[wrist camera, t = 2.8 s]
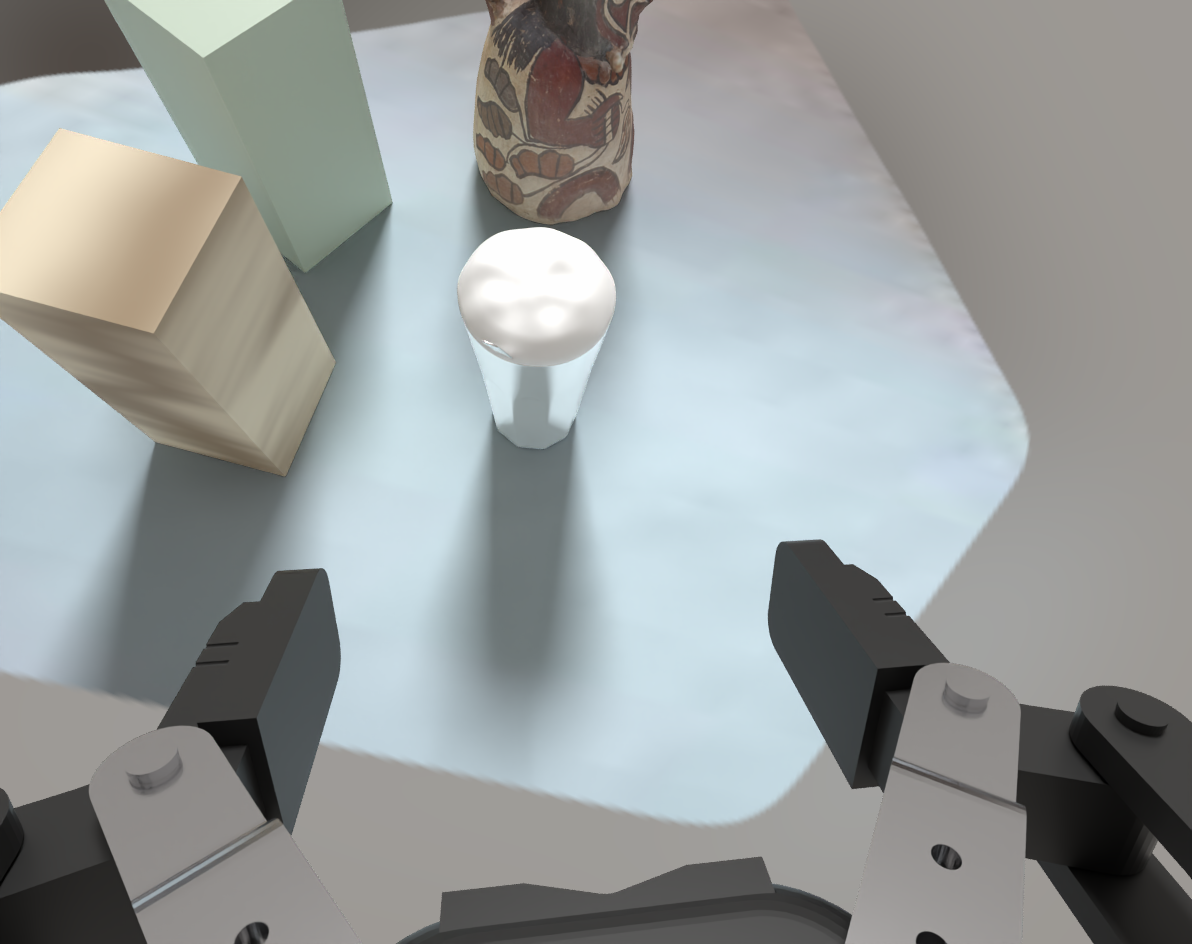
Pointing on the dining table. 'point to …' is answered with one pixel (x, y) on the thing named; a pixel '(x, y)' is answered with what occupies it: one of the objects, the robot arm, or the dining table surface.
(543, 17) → the figurine
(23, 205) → the beech block
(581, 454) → the dining table surface
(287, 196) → the sage block
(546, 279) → the milkshake
